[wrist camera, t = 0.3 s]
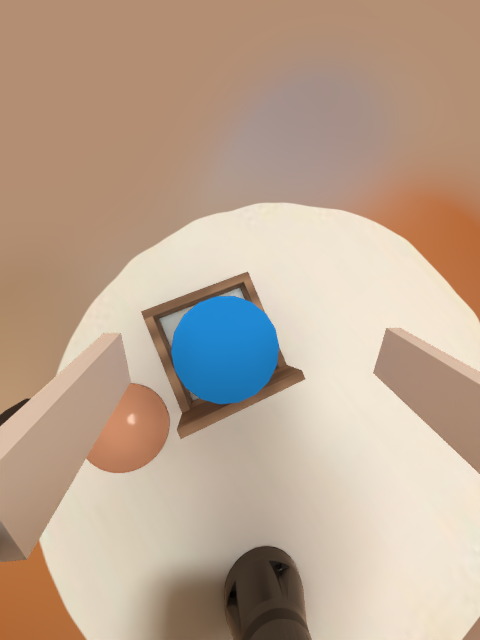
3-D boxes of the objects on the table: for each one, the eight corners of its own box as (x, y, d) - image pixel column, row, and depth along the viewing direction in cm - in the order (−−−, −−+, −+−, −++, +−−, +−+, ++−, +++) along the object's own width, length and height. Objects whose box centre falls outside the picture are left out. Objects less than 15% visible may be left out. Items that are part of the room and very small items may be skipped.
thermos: (247, 362, 47) (291, 390, 22) (196, 374, 45) (182, 420, 20) (236, 311, 47) (267, 284, 22) (185, 322, 46) (159, 304, 21)
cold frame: (281, 368, 48) (305, 379, 36) (188, 411, 44) (180, 439, 32) (243, 278, 48) (255, 259, 36) (148, 314, 45) (126, 306, 33)
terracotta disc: (181, 445, 44) (181, 447, 43) (99, 485, 41) (96, 489, 40) (151, 370, 44) (149, 370, 43) (67, 405, 41) (63, 406, 40)
